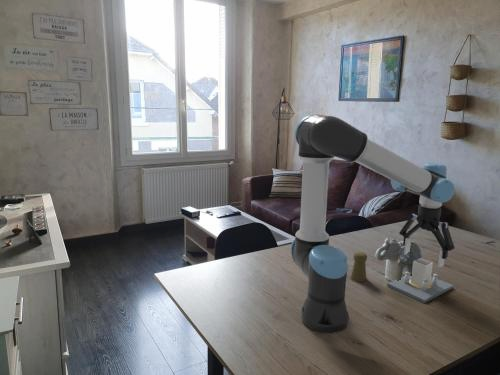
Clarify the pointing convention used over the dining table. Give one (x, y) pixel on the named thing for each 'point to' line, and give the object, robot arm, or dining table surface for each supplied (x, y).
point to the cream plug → (421, 272)
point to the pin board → (417, 292)
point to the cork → (359, 267)
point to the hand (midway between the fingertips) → (422, 259)
